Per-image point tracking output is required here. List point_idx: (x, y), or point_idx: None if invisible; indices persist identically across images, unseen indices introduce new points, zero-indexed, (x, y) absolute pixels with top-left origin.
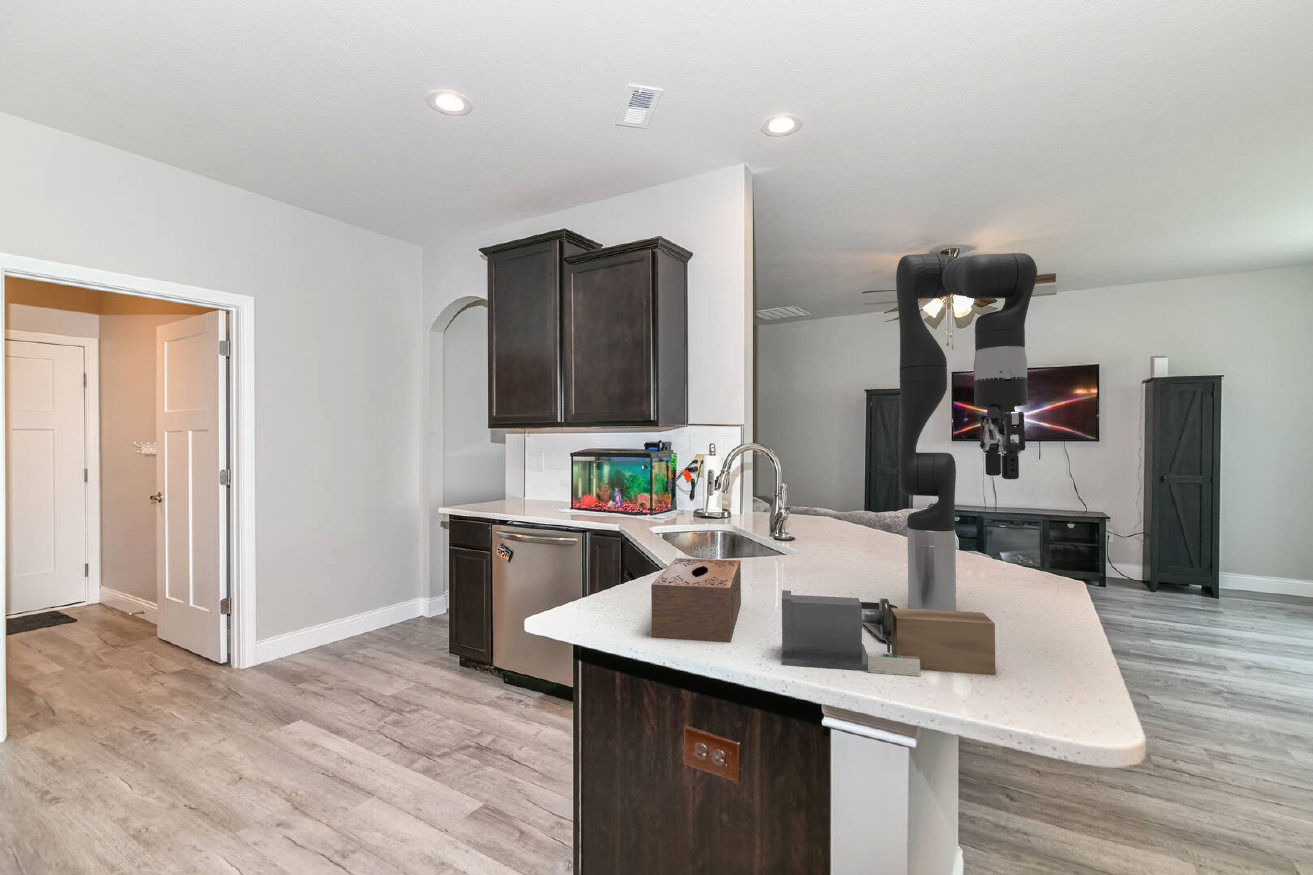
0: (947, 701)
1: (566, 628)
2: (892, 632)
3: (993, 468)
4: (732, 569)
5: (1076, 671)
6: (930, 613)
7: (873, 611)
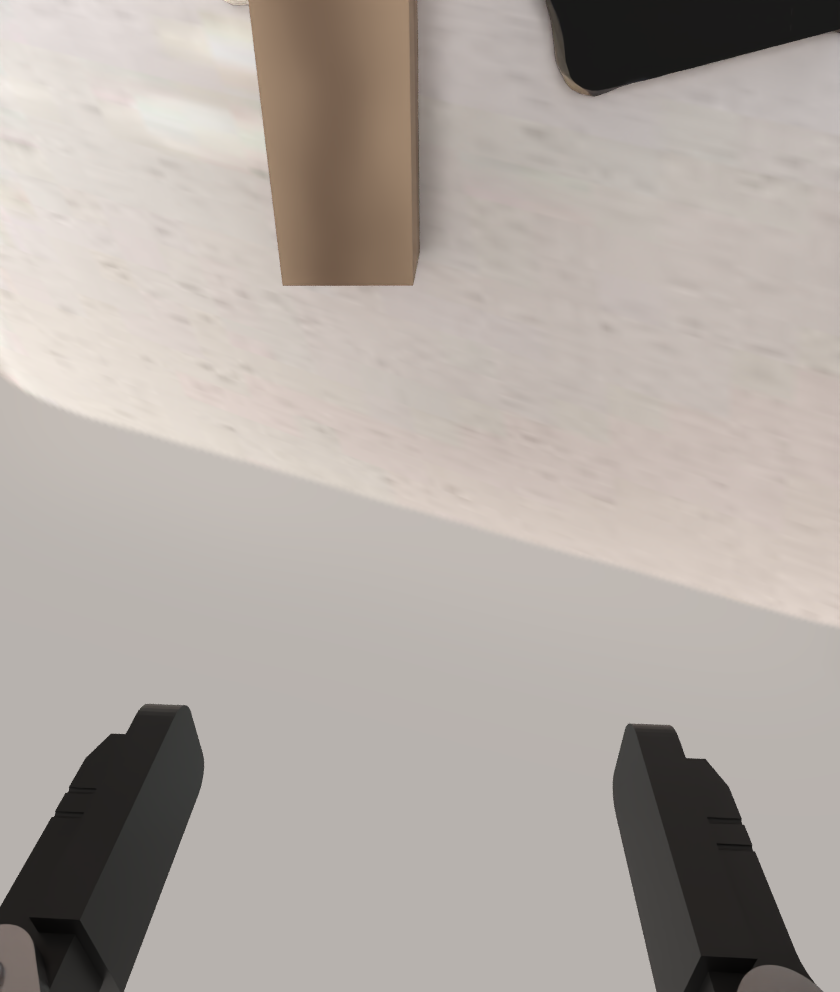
0: (65, 56)
1: None
2: None
3: (636, 812)
4: None
5: (396, 450)
6: (351, 65)
7: None
